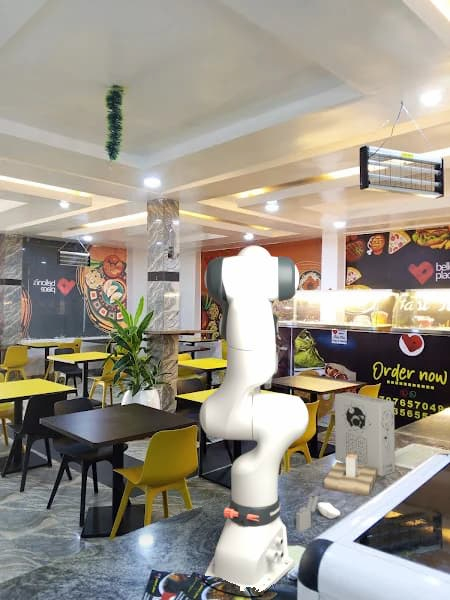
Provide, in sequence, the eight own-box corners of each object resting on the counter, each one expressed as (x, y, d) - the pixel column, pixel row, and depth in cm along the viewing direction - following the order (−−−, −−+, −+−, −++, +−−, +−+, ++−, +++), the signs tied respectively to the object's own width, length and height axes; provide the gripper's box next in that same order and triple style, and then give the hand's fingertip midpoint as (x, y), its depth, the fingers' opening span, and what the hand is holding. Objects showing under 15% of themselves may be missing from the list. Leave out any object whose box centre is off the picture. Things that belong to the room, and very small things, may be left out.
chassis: (369, 496, 146) (369, 486, 146) (324, 488, 152) (324, 479, 152) (377, 476, 162) (377, 467, 162) (336, 470, 169) (336, 462, 169)
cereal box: (395, 472, 166) (394, 401, 166) (380, 476, 162) (379, 404, 162) (349, 455, 184) (348, 391, 184) (335, 459, 180) (334, 394, 180)
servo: (355, 483, 155) (354, 456, 155) (346, 482, 156) (345, 455, 156) (357, 479, 158) (357, 453, 158) (348, 477, 160) (348, 451, 160)
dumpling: (313, 516, 133) (312, 502, 133) (323, 510, 137) (323, 496, 137) (334, 524, 128) (334, 509, 128) (344, 517, 132) (344, 503, 132)
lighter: (300, 531, 124) (299, 501, 124) (295, 529, 126) (295, 499, 126) (319, 524, 128) (318, 494, 129) (314, 521, 130) (313, 492, 130)
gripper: (259, 352, 145) (260, 397, 145) (281, 346, 164) (281, 386, 164) (240, 352, 148) (241, 396, 148) (264, 346, 167) (264, 385, 167)
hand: (262, 391), depth 156 cm, fingers open, 8 cm apart
